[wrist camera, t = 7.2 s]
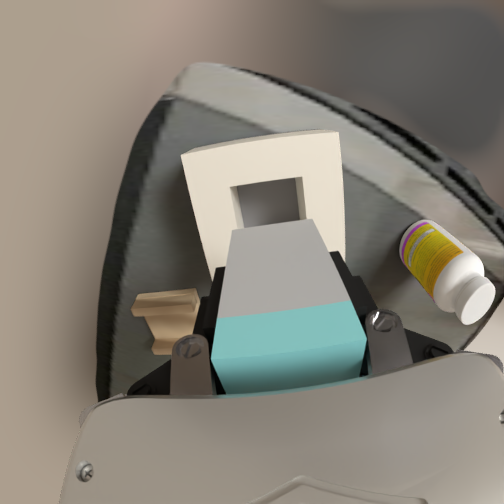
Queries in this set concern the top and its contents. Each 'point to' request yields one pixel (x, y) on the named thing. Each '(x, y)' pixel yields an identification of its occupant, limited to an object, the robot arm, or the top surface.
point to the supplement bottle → (447, 270)
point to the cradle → (168, 316)
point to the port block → (266, 187)
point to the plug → (284, 313)
